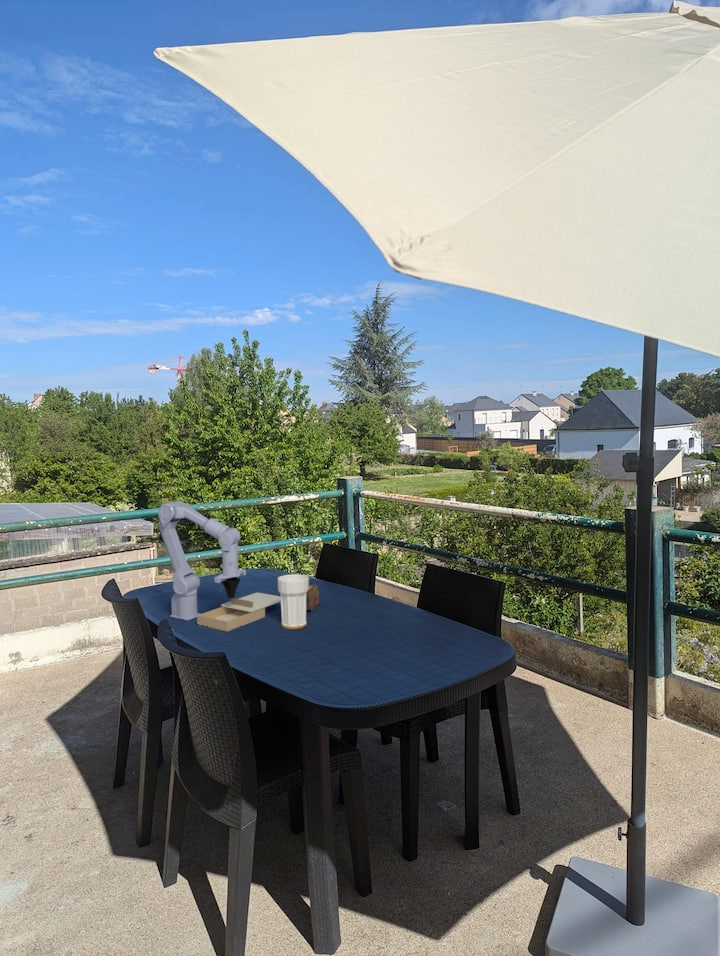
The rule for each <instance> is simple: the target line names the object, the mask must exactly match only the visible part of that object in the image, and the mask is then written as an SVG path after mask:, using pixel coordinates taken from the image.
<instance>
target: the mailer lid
mask: <svg viewBox="0 0 720 956" xmlns="http://www.w3.org/2000/svg"><path fill="white" fill-rule="evenodd" d="M278 603H281V597H280V596H279V595H273V594H270V593H269V594H268V593H263V592H258V591H257V592H254V593H251V594H248V595H246V596H242V597H239V598H235V597H234V598H232V599H231V598H230V601H227V602H225V603H222V604H220V607H228V608H233V609H238V610H243V611H248V612H254V611H257V610H259V609H262V608H265V609H266V608H267V607H270V606H272V605H274V604H278Z"/></svg>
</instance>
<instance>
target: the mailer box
mask: <svg viewBox="0 0 720 956" xmlns="http://www.w3.org/2000/svg"><path fill="white" fill-rule="evenodd" d="M263 618H266V607H265V608H262V609H259V610H257V611H254V612H248V611H243V610H238V609H233V608H228V607H223V606H220V607H218V608H217V607H216V608H215V609H212V610H208V611H206V612H203V613H200V615H197V617H196V622H197V624H199V625H198V626H201V625H204V626H203V627H205V626H208V627H207V628H210V627H211V629H214V628H215V629H214V630H218V629H219V631H223V632H230V631H233V630H235V629H238V628H241V627H242V626H245V625H249V624H251V623H253V622H255V621H258V620H261V619H263ZM240 626H241V627H240Z"/></svg>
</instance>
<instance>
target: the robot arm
mask: <svg viewBox="0 0 720 956" xmlns="http://www.w3.org/2000/svg"><path fill="white" fill-rule="evenodd" d="M157 515H158V518H159V519H158V520H159V521H158V528H159V532H160V534H161V538H162V541H163V543H164V546H165V548H166V552H167V555H168V557H169V560H170V564H171V565H172V568H173V574H172V578H171V579H172V588H173V591H174V593H173V595H172V596H171V614H170V615H169V617H170V618H173V619H178V620H182V619H183V621H190V620H192V619H197V615H200V614H201V613H199V612H198V594H197V593H198V589H199V588H200V585H201V579H200V578H199V576H198V575H197V574H196V572H195V570H194V568H192V567H190V566H189V563H188V561H187V558H186V555H185V552H184V549H183V546H182V544H181V541H180V538H179V535H178V532H177V529H176V526H177V525H178V523H179V521H180V520H181V519H187V520H188V521H189V520H190V522H193V523H194V524H197V525H198V526H201V527H203V531H204V533H206V534H208V535H210V536H212V537H213V538H214V539H216V540H218V542H219V544H220V545H221V546H220V547H221V556H222V557H221V558H222V559H221V561H222V567H221V568H222V573H221V574H219V575H217V576H214V578H213V579H214V583H217V584H222V585H223V587H224V590H225V592H226V595H227V596H226V597H227V598H228V599H230V600H231V599H232V598H235V595H236V592H237V588H238V586H239V584H240V581H241V578H239V577H241V576H246V575H247V570H246V569H239V544H238V543H239V541H240V540H241V533H240V531H239V530H238V529H237V528H235V527H229V525H225V524H224V523H222V522H221V521H219V519H218V518H208V517H206V516H204V515H203V514H201V513H200V512H198V510H196V509H194V508H192V507H191V506H190V505H189V503H186V502H184V501H183V500H175V501H171V502H165V503H162V504H161V505H160V506H159V508H158V511H157Z"/></svg>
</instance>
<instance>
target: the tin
mask: <svg viewBox="0 0 720 956" xmlns="http://www.w3.org/2000/svg"><path fill="white" fill-rule="evenodd" d="M319 602H320V589H319V585H318V584H309V590H308V591H307V592H306V611H307V610H311V611H312V610H313V608H314V607H315V606H316V605H317V604H318V605H319ZM318 605H317V606H318ZM317 606H316V607H317ZM316 607H315V608H316ZM315 608H314V609H315ZM311 611H310V612H311ZM313 611H314V610H313Z"/></svg>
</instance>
